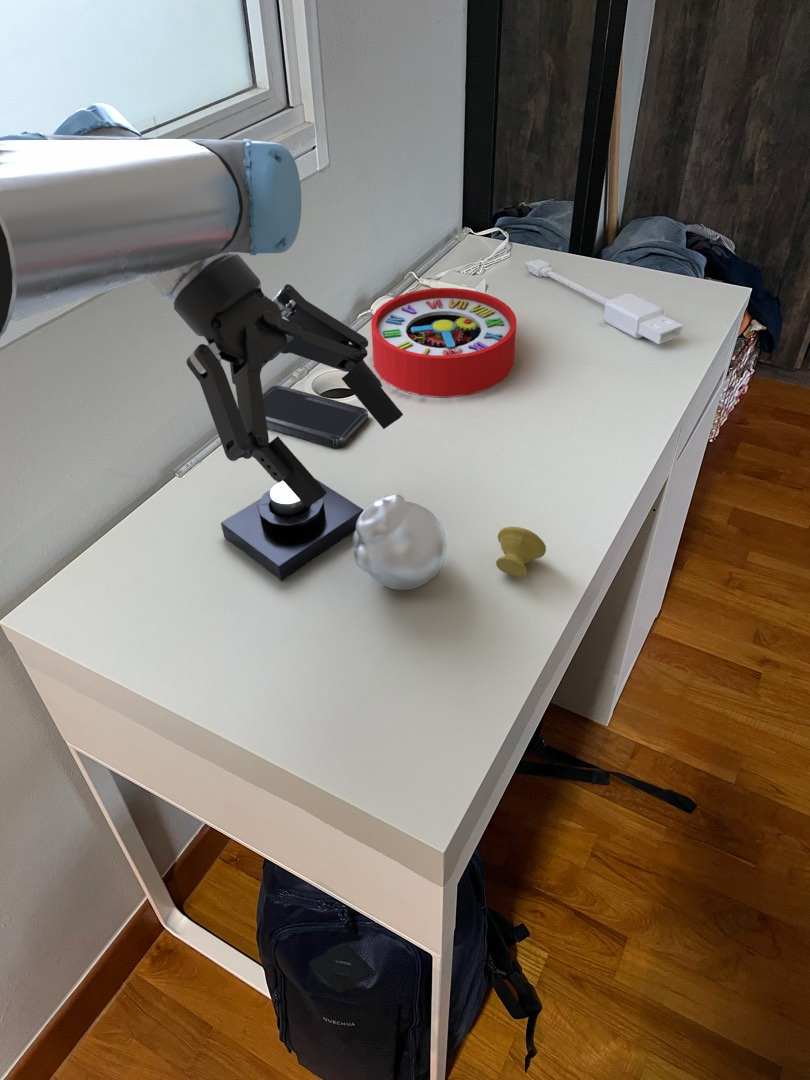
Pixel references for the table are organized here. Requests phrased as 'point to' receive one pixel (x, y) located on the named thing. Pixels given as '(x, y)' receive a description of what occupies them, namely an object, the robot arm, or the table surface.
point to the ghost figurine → (399, 543)
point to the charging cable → (622, 310)
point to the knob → (518, 550)
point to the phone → (312, 416)
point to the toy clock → (443, 342)
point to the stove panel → (291, 532)
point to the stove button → (286, 501)
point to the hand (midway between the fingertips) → (357, 459)
